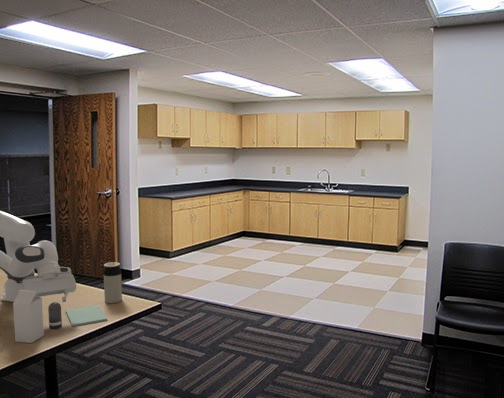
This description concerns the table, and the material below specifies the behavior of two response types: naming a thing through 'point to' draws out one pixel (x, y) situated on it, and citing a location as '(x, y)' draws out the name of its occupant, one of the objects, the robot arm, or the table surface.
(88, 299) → the table surface
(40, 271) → the robot arm
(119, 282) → the travel mug
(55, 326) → the cylinder
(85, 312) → the sage green mat
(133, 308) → the table surface
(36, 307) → the milk carton
